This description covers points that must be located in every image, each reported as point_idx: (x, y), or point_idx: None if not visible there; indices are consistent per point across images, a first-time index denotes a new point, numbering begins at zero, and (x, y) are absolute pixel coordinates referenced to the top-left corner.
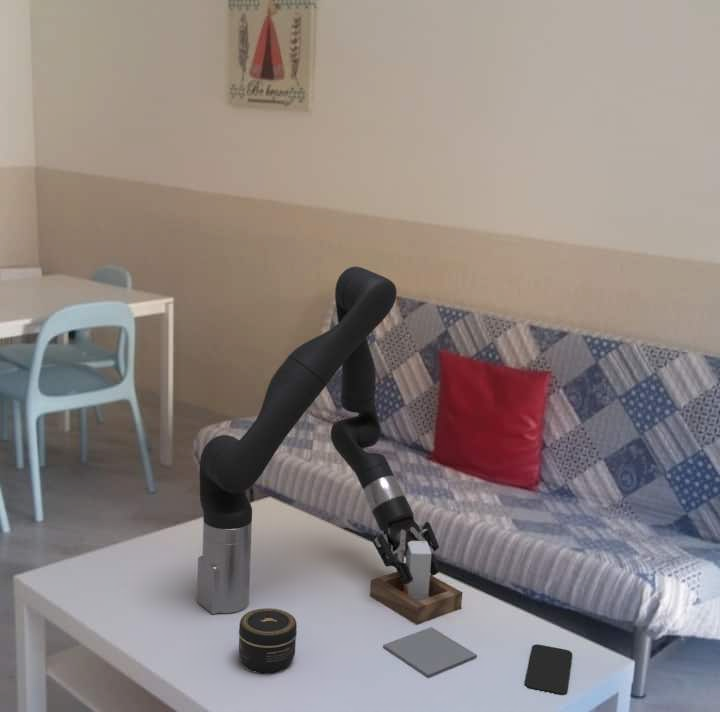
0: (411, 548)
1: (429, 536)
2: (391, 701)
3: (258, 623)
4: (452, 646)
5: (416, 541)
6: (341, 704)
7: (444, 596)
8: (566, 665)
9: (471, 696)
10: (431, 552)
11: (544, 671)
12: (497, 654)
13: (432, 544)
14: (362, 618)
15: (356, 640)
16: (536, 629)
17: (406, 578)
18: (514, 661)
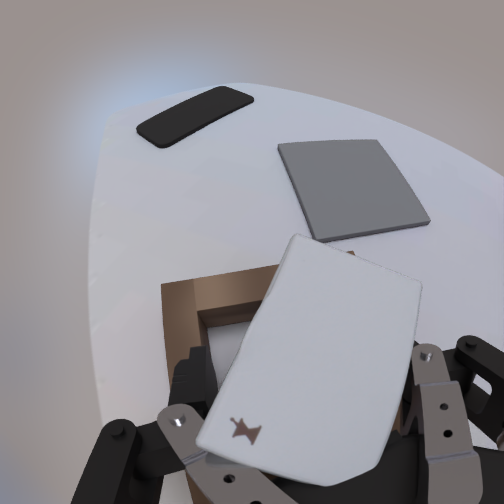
0: (402, 351)
1: (119, 501)
2: (425, 137)
3: None
4: (308, 171)
5: (299, 466)
6: (470, 157)
7: (234, 282)
8: (171, 109)
9: (331, 108)
10: (183, 409)
11: (209, 106)
12: (236, 146)
13: (134, 454)
14: (444, 341)
15: (464, 262)
16: (112, 184)
17: None
18: (224, 130)
